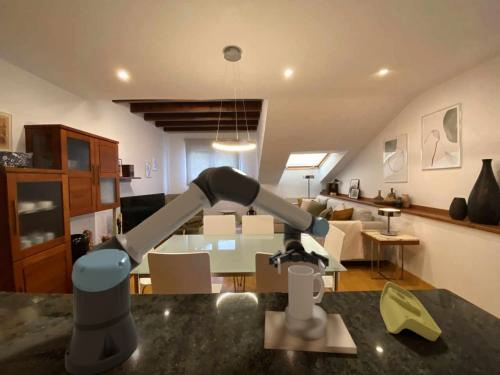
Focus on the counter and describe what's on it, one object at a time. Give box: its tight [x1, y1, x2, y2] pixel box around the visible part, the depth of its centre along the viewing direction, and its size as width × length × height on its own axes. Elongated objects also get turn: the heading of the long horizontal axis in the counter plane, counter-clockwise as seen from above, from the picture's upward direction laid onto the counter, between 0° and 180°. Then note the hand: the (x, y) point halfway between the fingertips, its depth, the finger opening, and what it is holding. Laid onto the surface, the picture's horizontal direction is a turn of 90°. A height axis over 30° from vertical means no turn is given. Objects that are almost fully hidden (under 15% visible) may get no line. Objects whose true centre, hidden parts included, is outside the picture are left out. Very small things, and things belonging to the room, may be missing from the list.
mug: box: [287, 264, 326, 320], centre depth 63 cm, size 10×7×12 cm, turn 95°
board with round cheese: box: [263, 303, 358, 355], centre depth 63 cm, size 22×14×6 cm, turn 85°
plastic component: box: [379, 281, 442, 342], centre depth 69 cm, size 20×7×10 cm
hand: (301, 270), depth 72 cm, fingers open, 13 cm apart
